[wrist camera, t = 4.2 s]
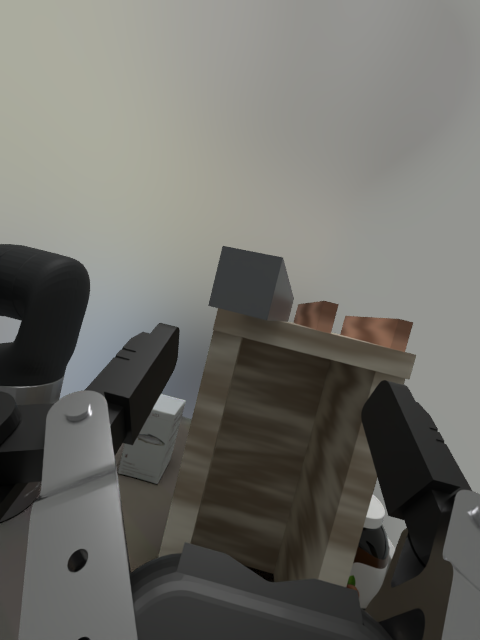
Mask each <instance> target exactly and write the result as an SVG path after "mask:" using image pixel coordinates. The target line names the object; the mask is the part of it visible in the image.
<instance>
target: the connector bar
mask: <svg viewBox="0 0 480 640" xmlns="http://www.w3.org/2000/svg"><path fill="white" fill-rule="evenodd" d="M293 300H294V297H293V294H292V290H291V286H290V282H289V279H288V275H287V271H286V267H285V264H284V260H283V258H282V257H277V256H272V255H266V254H262V253H256V252H251V251H246V250H241V249H236V248H231V247H225V246H223V247H222V251H221V256H220V260H219V264H218V268H217V272H216V276H215V280H214V284H213V289H212V293H211V298H210V301H209V306H212V307H216V308H220V309H224V310H228V311H232V312H236V313H240V314H244V315H247V316H251V317H255V318H259V319H263V320H268V321H284V322H288V319H289V316H290V312H291V308H292V304H293Z"/></svg>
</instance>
